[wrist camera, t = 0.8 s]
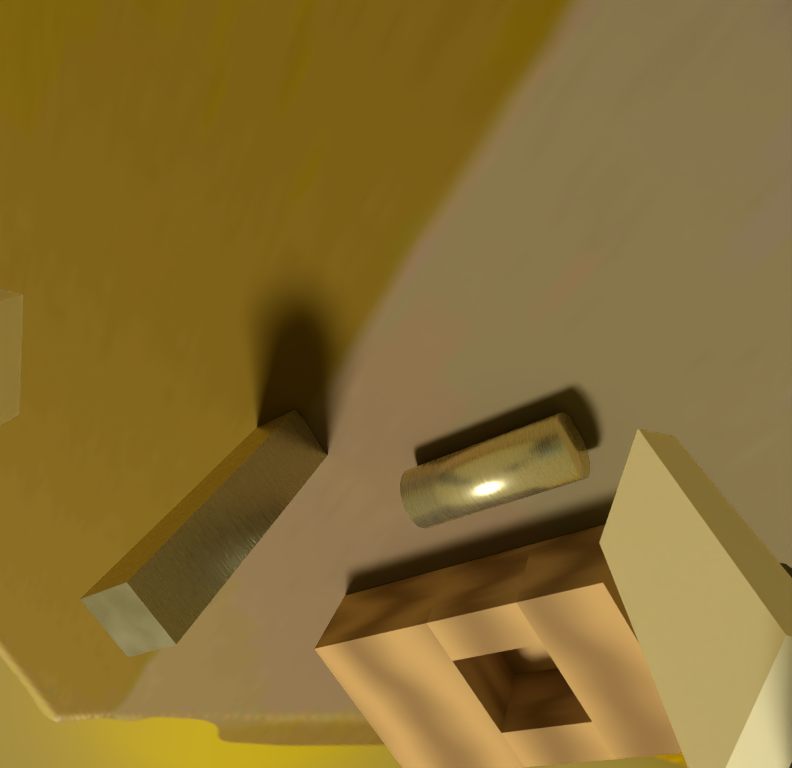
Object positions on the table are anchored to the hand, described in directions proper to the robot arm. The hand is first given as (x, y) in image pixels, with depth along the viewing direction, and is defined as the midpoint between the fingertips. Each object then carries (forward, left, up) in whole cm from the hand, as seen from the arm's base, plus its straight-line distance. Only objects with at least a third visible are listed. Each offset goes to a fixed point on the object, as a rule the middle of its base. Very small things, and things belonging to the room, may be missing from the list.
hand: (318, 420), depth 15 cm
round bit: (+8, +12, -22) cm, 27 cm away
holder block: (+14, +24, -22) cm, 36 cm away
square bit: (+20, +6, -22) cm, 30 cm away
